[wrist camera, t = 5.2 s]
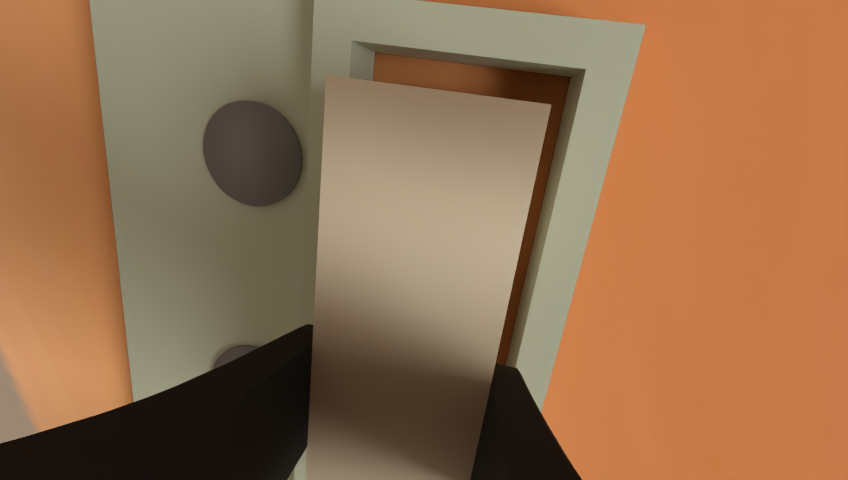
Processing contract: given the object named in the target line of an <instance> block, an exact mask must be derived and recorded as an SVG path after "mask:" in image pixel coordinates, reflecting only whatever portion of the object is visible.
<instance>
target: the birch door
mask: <svg viewBox="0 0 848 480" xmlns="http://www.w3.org/2000/svg"><path fill="white" fill-rule="evenodd" d="M550 110H551V104H544V103H536V102H529V101H521V100H514V99H506V98H498V97H491V96H483V95H476V94H468V93H460V92H453V91H445V90H438V89H430V88H423V87H415V86H407V85H400V84H392V83H385V82H377V81H369V80H362V79H354V78H347V77H339V76H332V75H326V89H325V108H324V128H323V147H322V167H321V186H320V206H319V226H318V245H317V265H316V284H315V304H314V324H313V343H312V363H311V382H310V402H309V422H308V441H307V461H306V480H470V479H471V474H472V469H473V465H474V460H475V456H476V451H477V446H478V442H479V437H480V433H481V428H482V424H483V419H484V414H485V410H486V405H487V401H488V396H489V391H490V387H491V382H492V378H493V373H494V368H495V364H496V359H497V354H498V350H499V345H500V341H501V336H502V331H503V327H504V322H505V317H506V313H507V308H508V304H509V299H510V294H511V290H512V285H513V281H514V276H515V271H516V267H517V262H518V257H519V253H520V248H521V244H522V239H523V234H524V230H525V225H526V220H527V216H528V211H529V207H530V202H531V197H532V193H533V188H534V184H535V179H536V174H537V170H538V165H539V160H540V156H541V151H542V147H543V142H544V137H545V133H546V128H547V123H548V119H549V114H550Z"/></svg>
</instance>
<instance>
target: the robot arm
mask: <svg viewBox="0 0 848 480" xmlns="http://www.w3.org/2000/svg"><path fill="white" fill-rule="evenodd" d="M312 343H313V325H311V324H306V325H304V326H302V327H299V328H297V329H295V330H293V331H291V332H289V333H287V334H285V335H283V336H281V337H279V338H277V339H275V340H273V341H271V342H269V343H267V344H265V345H263V346H261V347H259V348H257V349H255V350H253V351H251V352H249V353H247V354H245V355H243V356H241V357H239V358H237V359H235V360H233V361H231V362H229V363H226V364H224V365H222V366H220V367H217V368H215V369H213V370H211V371H208V372H206V373H204V374H202V375H199V376H197V377H195V378H193V379H190V380H188V381H186V382H184V383H181V384H179V385H177V386H174V387H172V388H170V389H167V390H165V391H162V392H160V393H157V394H154V395H152V396H149V397H147V398H144V399H141V400H138V401H136V402H133V403H130V404H127V405H125V406H122V407H119V408H116V409H113V410H111V411H108V412H105V413H102V414H99V415H96V416H92V417H89V418H86V419H82V420H79V421H76V422H72V423H69V424H66V425H63V426H59V427H56V428H53V429H49V430H46V431H43V432H40V433H36V434H33V435H30V436H26V437H23V438H19V439H16V440H12V441H8V442H4V443H1V444H0V480H287V479H288V478H289V476H290V474H291V473H292V471H293V469H294V468H295V466H296V464H297V463H298V461H299V459H300V458H301V456H302V454H303V453H304V451H305V449H306V448H307V441H308V422H309V402H310V382H311V363H312ZM470 480H582V479H581V478H580V476H579V475H578V473H577V472H576V470H575V469H574V467H573V466H572V464H571V462H570V461H569V459H568V458H567V456H566V455H565V453H564V451H563V450H562V448H561V446H560V445H559V443H558V441H557V440H556V438H555V436H554V435H553V433H552V431H551V430H550V428H549V426H548V425H547V423H546V421H545V419H544V417H543V416H542V414H541V412H540V410H539V408H538V406H537V404H536V403H535V401H534V399H533V397H532V395H531V393H530V391H529V389H528V387H527V385H526V383H525V381H524V379H523V377H522V375H521V373H520V371H519V370H518V369H517V368H514V367H510V366H505V365H500V364H495V368H494V373H493V378H492V382H491V387H490V391H489V396H488V401H487V405H486V410H485V414H484V419H483V424H482V428H481V433H480V437H479V442H478V446H477V451H476V456H475V460H474V465H473V469H472V474H471V479H470Z"/></svg>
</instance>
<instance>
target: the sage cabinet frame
mask: <svg viewBox="0 0 848 480" xmlns="http://www.w3.org/2000/svg"><path fill="white" fill-rule="evenodd" d="M89 3H90V12H91V21H92V30H93V39H94V48H95V57H96V66H97V75H98V84H99V94H100V103H101V112H102V121H103V130H104V139H105V148H106V157H107V166H108V175H109V184H110V193H111V202H112V211H113V221H114V230H115V239H116V248H117V257H118V266H119V275H120V284H121V293H122V302H123V311H124V320H125V329H126V338H127V348H128V357H129V366H130V375H131V384H132V393H133V402H136V401H138V400H141V399H144V398H147V397H149V396H152V395H154V394H157V393H160V392H162V391H165V390H167V389H170V388H172V387H174V386H177V385H179V384H181V383H184V382H186V381H188V380H190V379H193V378H195V377H197V376H199V375H202V374H204V373H206V372H208V371H211V370H213V369H215V368H217V367H220V366H222V365H224V364H226V363H229V362H231V361H233V360H235V359H237V358H239V357H241V356H243V355H245V354H247V353H249V352H251V351H253V350H255V349H257V348H259V347H261V346H263V345H265V344H267V343H269V342H271V341H273V340H275V339H277V338H279V337H281V336H283V335H285V334H287V333H289V332H291V331H293V330H295V329H297V328H299V327H302V326H304V325H306V324H311V325H313V324H314V304H315V284H316V265H317V245H318V226H319V206H320V186H321V167H322V147H323V128H324V108H325V89H326V75H332V76H339V77H347V78H354V79H362V80H369V81H373V72H374V60H375V53H382V54H390V55H398V56H406V57H414V58H422V59H430V60H438V61H446V62H454V63H462V64H470V65H479V66H487V67H495V68H503V69H511V70H519V71H527V72H535V73H543V74H551V75H559V76H567V77H571V79H570V83H569V88H568V92H567V96H566V101H565V105H564V110H563V114H562V118H561V123H560V127H559V132H558V136H557V140H556V145H555V149H554V154H553V158H552V162H551V167H550V171H549V176H548V180H547V184H546V189H545V193H544V198H543V202H542V206H541V211H540V215H539V220H538V224H537V228H536V233H535V237H534V242H533V246H532V250H531V255H530V259H529V264H528V268H527V272H526V277H525V281H524V286H523V290H522V294H521V299H520V303H519V308H518V312H517V316H516V321H515V325H514V330H513V334H512V338H511V343H510V347H509V352H508V356H507V360H506V365H505V366H510V367H514V368H517V369H518V370H519V371H520V373H521V375H522V377H523V379H524V381H525V383H526V385H527V387H528V389H529V391H530V393H531V395H532V397H533V399H534V401H535V403H536V404H537V406H538V408H539V410H540V412H541V411H542V407H543V404H544V400H545V396H546V392H547V389H548V385H549V381H550V378H551V374H552V370H553V367H554V363H555V359H556V356H557V352H558V348H559V344H560V341H561V337H562V333H563V330H564V326H565V322H566V319H567V315H568V311H569V307H570V304H571V300H572V296H573V293H574V289H575V285H576V282H577V278H578V274H579V271H580V267H581V263H582V259H583V256H584V252H585V248H586V245H587V241H588V237H589V234H590V230H591V226H592V222H593V219H594V215H595V211H596V208H597V204H598V200H599V197H600V193H601V189H602V186H603V182H604V178H605V174H606V171H607V167H608V163H609V160H610V156H611V152H612V149H613V145H614V141H615V138H616V134H617V130H618V126H619V123H620V119H621V115H622V112H623V108H624V104H625V101H626V97H627V93H628V89H629V86H630V82H631V78H632V75H633V71H634V67H635V64H636V60H637V56H638V53H639V49H640V45H641V41H642V38H643V34H644V30H645V27H646V25H643V24H634V23H625V22H615V21H606V20H597V19H587V18H578V17H569V16H559V15H550V14H541V13H531V12H522V11H513V10H503V9H494V8H485V7H475V6H466V5H457V4H447V3H438V2H429V1H419V0H89ZM306 461H307V448H306V449H305V451H304V453H303V454H302V456H301V458H300V459H299V461H298V463H297V464H296V466H295V468H294V469H293V471H292V473H291V474H290V476H289V478H288V479H287V480H306Z"/></svg>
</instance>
